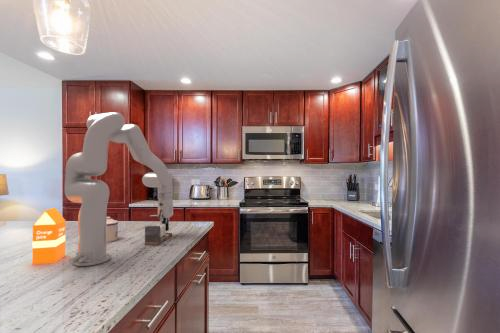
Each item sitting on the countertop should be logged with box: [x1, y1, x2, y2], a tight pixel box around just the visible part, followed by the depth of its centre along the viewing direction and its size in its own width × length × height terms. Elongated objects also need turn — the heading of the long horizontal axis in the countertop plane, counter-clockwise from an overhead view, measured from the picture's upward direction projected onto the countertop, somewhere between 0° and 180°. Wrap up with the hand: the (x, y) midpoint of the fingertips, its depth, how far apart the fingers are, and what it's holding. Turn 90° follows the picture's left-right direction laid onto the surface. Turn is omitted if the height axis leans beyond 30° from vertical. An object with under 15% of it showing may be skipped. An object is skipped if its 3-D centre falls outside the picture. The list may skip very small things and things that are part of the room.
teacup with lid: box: [106, 216, 119, 243], centre depth 133 cm, size 12×9×12 cm
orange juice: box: [32, 207, 67, 265], centre depth 103 cm, size 8×9×20 cm
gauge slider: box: [155, 223, 166, 238], centre depth 130 cm, size 6×6×6 cm
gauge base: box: [144, 225, 173, 246], centre depth 131 cm, size 18×6×8 cm, turn 175°
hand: (165, 230), depth 138 cm, fingers closed
